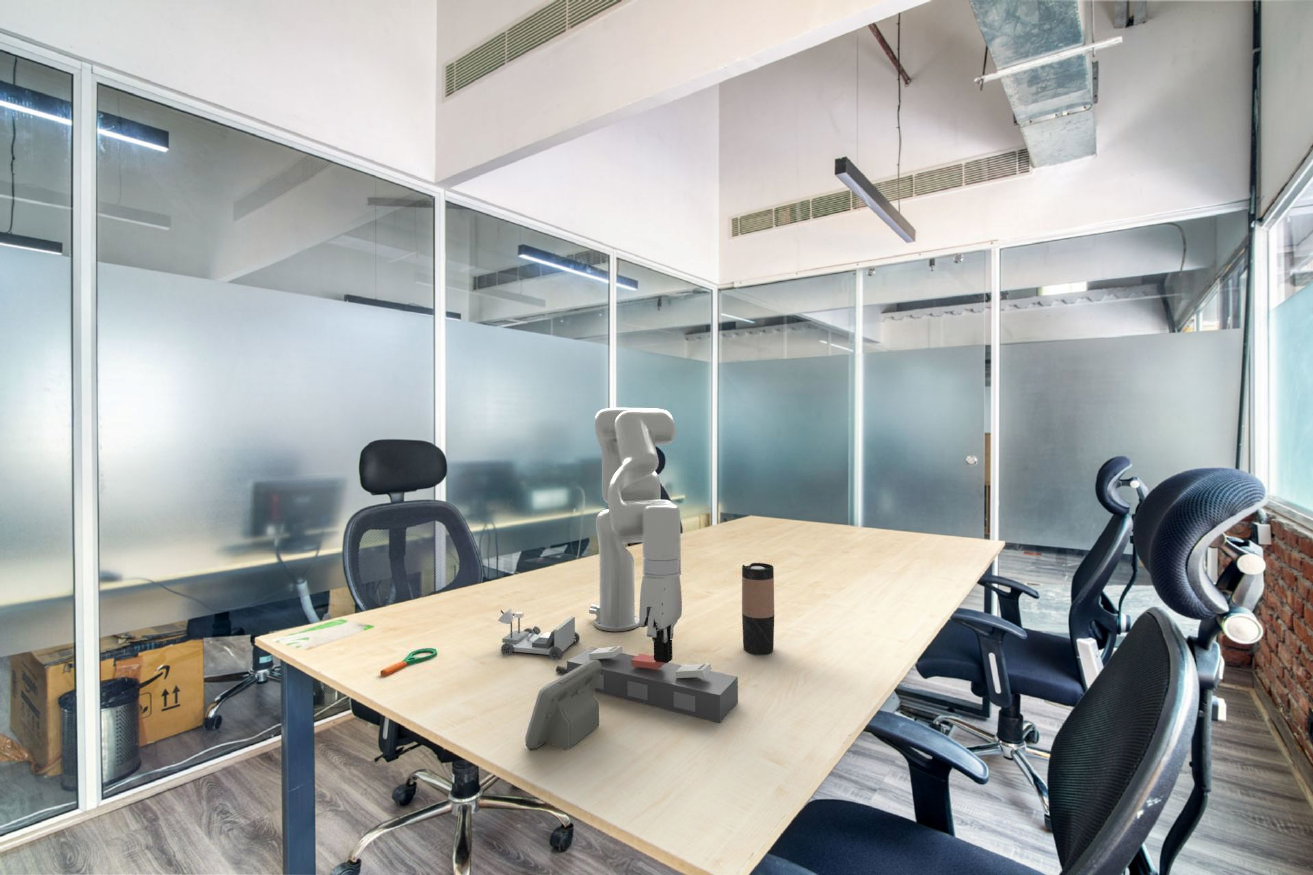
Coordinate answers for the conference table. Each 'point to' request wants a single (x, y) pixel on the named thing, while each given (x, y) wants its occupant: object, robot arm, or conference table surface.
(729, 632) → the conference table surface
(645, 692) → the power strip
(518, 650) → the toy car
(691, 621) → the conference table surface
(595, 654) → the rocker left
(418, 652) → the magnifying glass
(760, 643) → the travel mug
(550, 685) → the digital clock
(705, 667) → the rocker right
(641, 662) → the rocker middle
